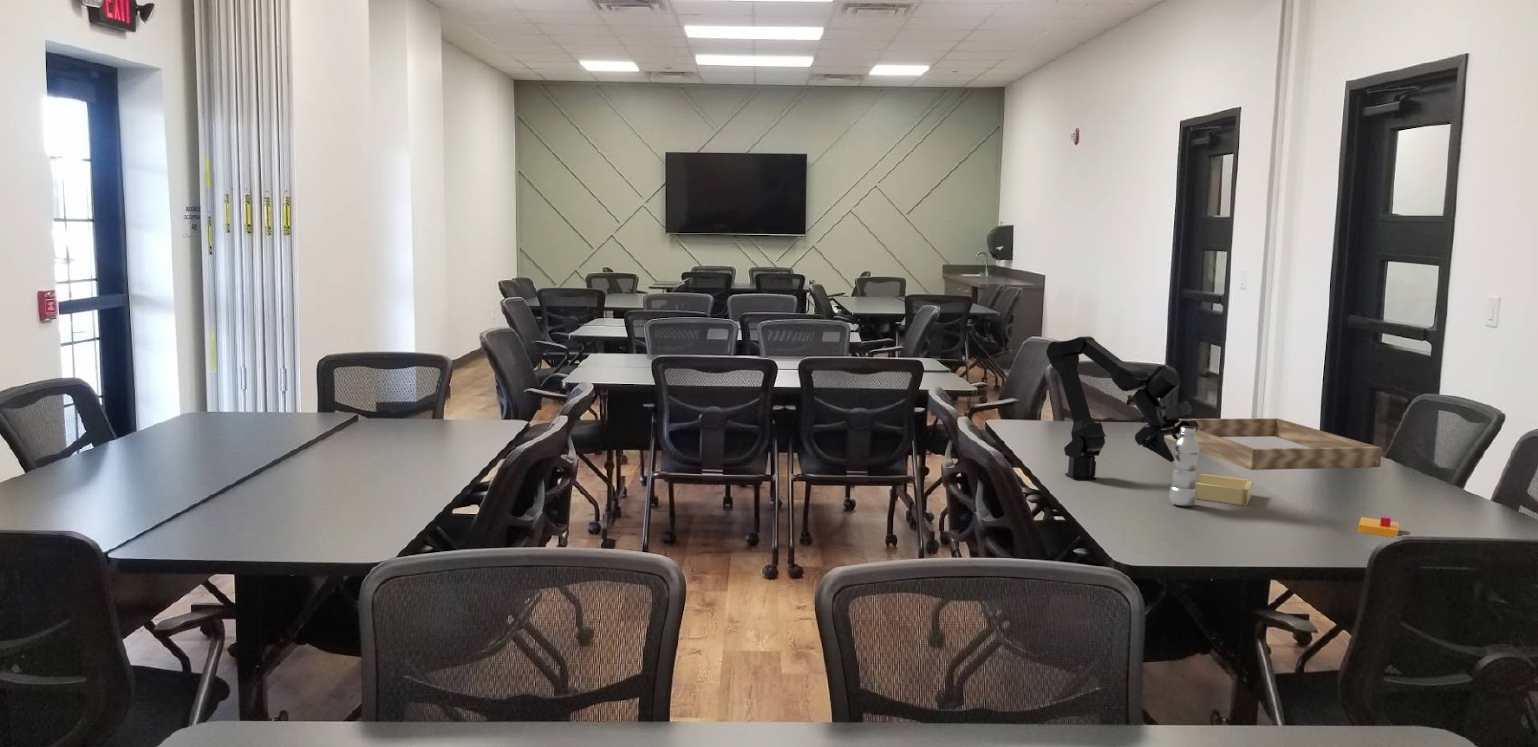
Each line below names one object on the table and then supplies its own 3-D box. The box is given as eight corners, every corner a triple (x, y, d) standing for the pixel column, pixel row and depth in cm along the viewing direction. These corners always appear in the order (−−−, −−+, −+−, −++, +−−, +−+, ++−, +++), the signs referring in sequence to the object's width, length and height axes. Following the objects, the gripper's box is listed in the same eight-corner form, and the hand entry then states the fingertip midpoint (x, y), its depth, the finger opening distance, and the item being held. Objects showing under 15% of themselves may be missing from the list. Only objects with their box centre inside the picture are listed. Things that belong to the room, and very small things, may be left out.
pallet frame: (1251, 469, 320) (1252, 449, 319) (1161, 436, 368) (1162, 419, 367) (1379, 467, 328) (1382, 447, 328) (1275, 435, 376) (1277, 418, 375)
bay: (1191, 498, 284) (1192, 483, 284) (1198, 487, 296) (1199, 473, 295) (1246, 505, 278) (1247, 490, 277) (1251, 495, 289) (1253, 480, 289)
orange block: (1357, 533, 256) (1359, 515, 256) (1360, 525, 263) (1362, 508, 263) (1397, 539, 252) (1399, 521, 252) (1398, 531, 259) (1400, 514, 258)
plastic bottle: (1183, 509, 272) (1189, 430, 269) (1162, 503, 278) (1168, 425, 275) (1201, 507, 275) (1208, 429, 272) (1180, 501, 281) (1186, 424, 278)
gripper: (1147, 392, 272) (1181, 444, 264) (1195, 388, 282) (1230, 438, 274) (1120, 419, 280) (1152, 469, 272) (1168, 414, 290) (1200, 462, 282)
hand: (1184, 459), depth 275 cm, fingers open, 9 cm apart
